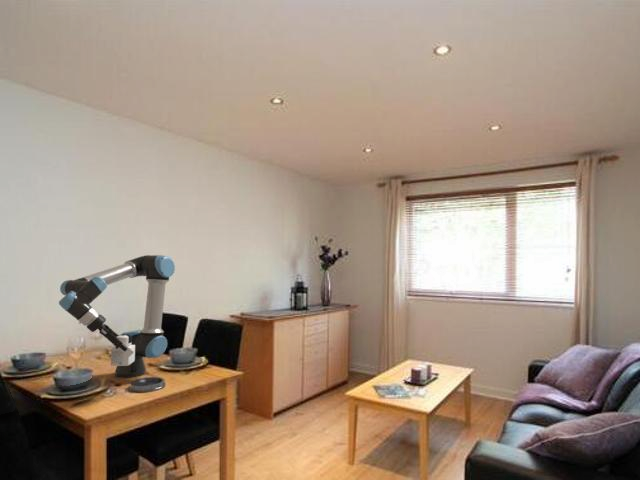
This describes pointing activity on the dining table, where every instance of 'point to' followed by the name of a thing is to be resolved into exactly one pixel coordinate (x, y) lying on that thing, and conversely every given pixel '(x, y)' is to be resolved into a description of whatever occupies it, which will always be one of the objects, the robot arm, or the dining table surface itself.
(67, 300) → the robot arm
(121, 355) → the container
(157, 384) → the blue-grey ceramic round dish
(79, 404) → the dining table surface
